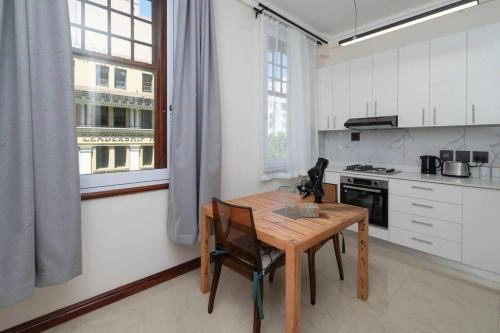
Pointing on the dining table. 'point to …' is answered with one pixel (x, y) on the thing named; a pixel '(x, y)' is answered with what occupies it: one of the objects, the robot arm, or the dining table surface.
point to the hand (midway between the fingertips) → (302, 199)
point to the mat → (283, 212)
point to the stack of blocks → (302, 209)
